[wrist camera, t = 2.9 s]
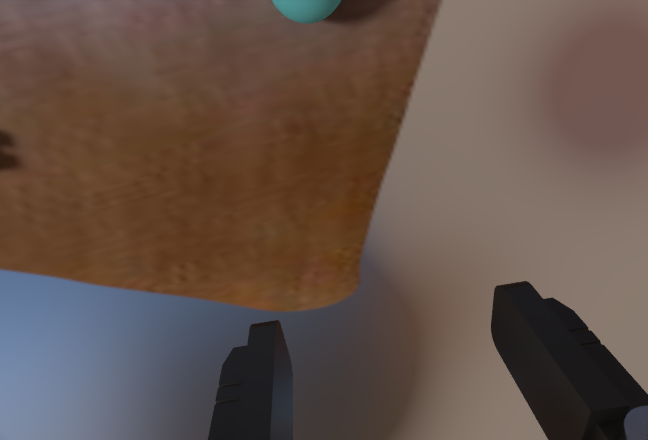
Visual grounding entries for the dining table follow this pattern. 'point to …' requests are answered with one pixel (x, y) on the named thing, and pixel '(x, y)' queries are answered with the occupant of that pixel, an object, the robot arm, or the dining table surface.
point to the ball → (306, 9)
